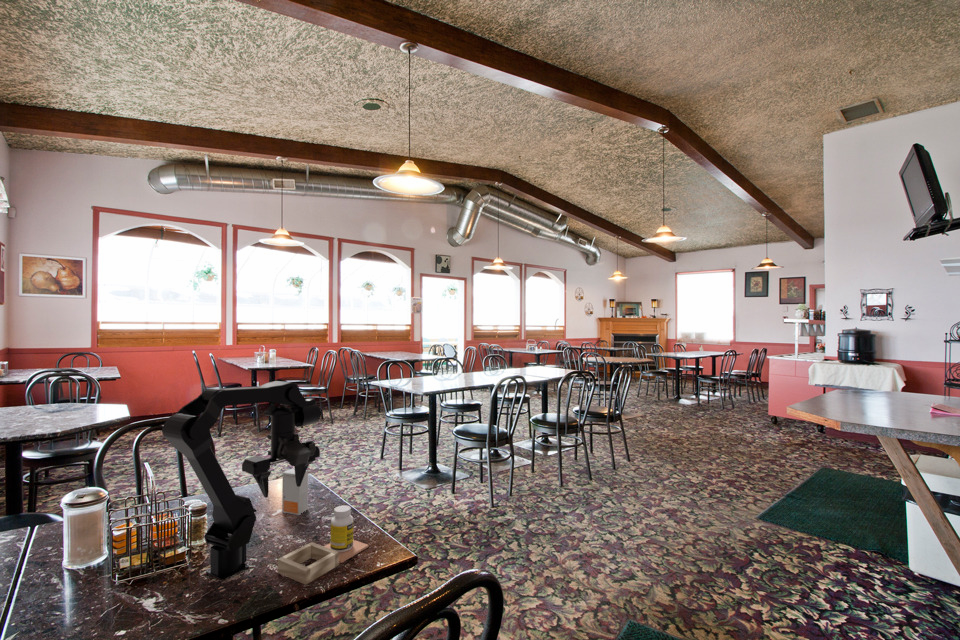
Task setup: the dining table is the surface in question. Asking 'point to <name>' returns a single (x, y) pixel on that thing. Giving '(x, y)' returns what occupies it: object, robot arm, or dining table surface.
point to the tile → (353, 551)
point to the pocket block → (305, 575)
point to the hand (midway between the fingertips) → (282, 491)
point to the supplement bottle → (342, 529)
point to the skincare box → (294, 493)
